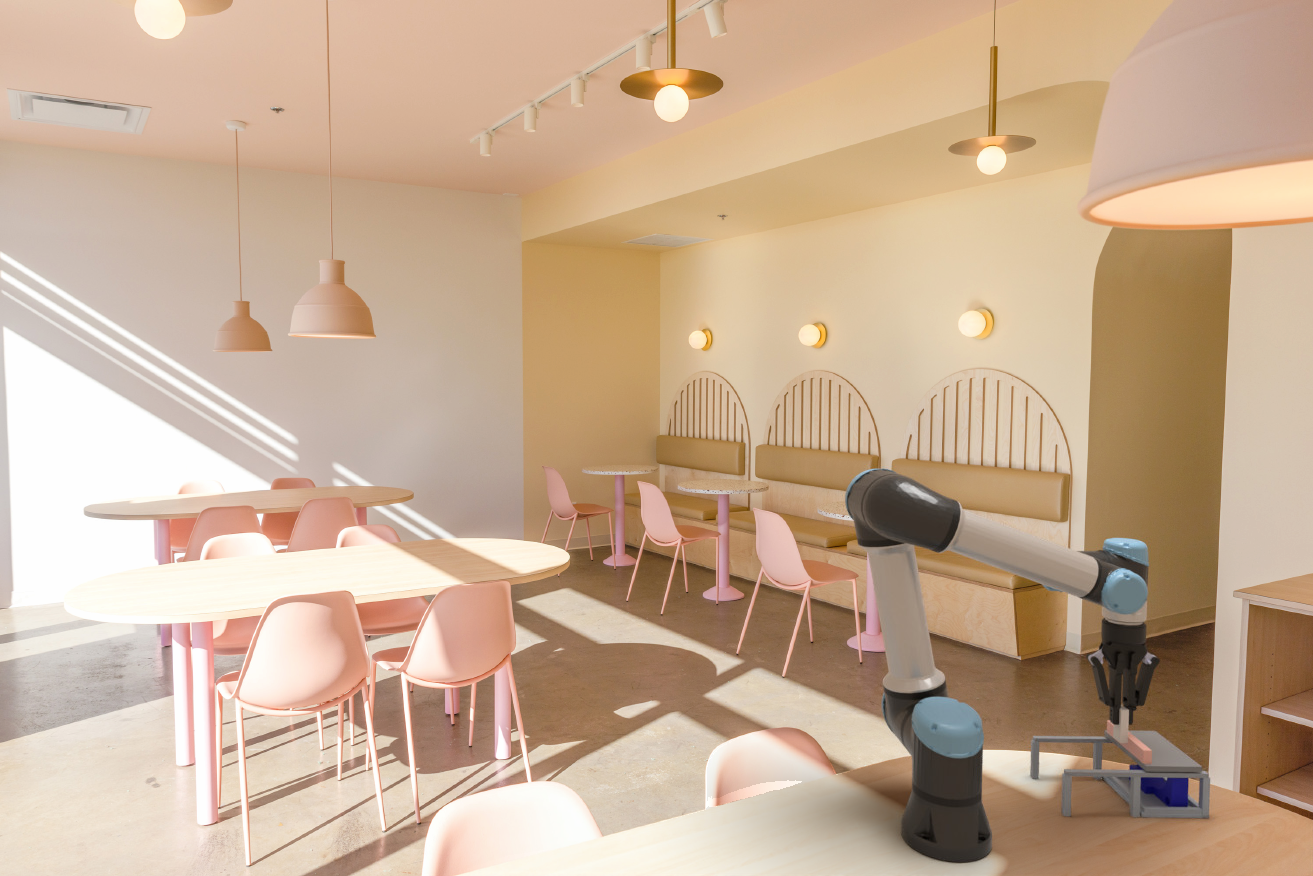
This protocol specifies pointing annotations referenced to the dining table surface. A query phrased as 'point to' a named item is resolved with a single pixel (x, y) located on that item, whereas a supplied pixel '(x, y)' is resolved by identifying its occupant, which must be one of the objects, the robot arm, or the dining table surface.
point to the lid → (1153, 752)
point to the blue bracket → (1165, 788)
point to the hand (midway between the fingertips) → (1120, 740)
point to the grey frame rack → (1125, 782)
